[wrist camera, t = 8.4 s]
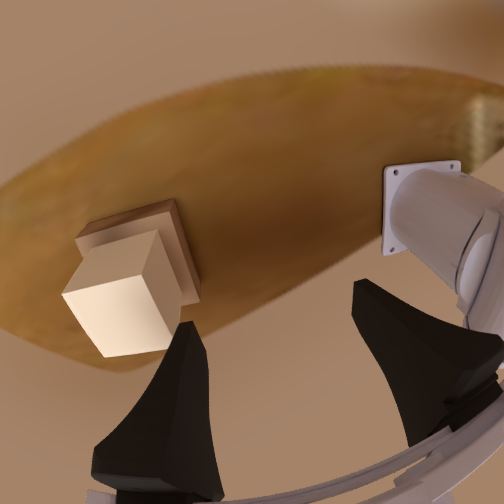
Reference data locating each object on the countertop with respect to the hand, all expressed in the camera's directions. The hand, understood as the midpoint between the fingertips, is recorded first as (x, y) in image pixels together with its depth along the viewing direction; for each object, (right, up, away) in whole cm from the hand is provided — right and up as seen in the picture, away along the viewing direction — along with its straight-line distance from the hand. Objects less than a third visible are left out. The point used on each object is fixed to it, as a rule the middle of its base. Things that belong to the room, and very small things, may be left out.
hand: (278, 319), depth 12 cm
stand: (-9, +3, +8) cm, 12 cm away
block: (-9, +2, +6) cm, 11 cm away
